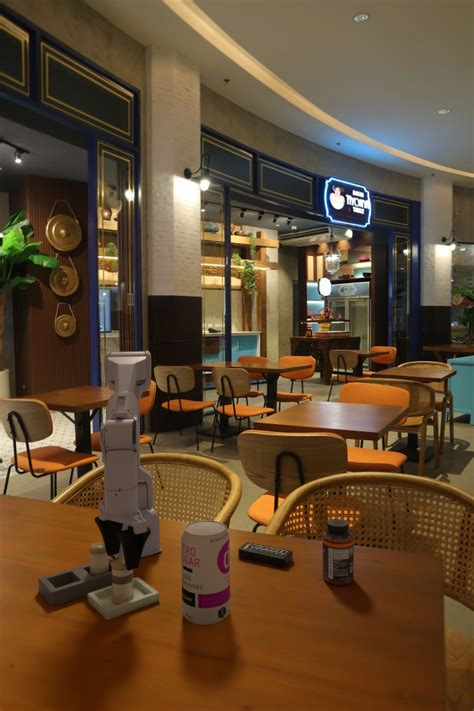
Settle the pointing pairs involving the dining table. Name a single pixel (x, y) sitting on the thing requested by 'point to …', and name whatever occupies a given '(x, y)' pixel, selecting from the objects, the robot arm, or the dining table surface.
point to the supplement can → (205, 572)
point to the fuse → (98, 559)
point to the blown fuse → (121, 582)
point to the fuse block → (73, 584)
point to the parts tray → (110, 610)
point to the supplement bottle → (338, 553)
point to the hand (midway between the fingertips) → (122, 561)
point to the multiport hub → (265, 554)
